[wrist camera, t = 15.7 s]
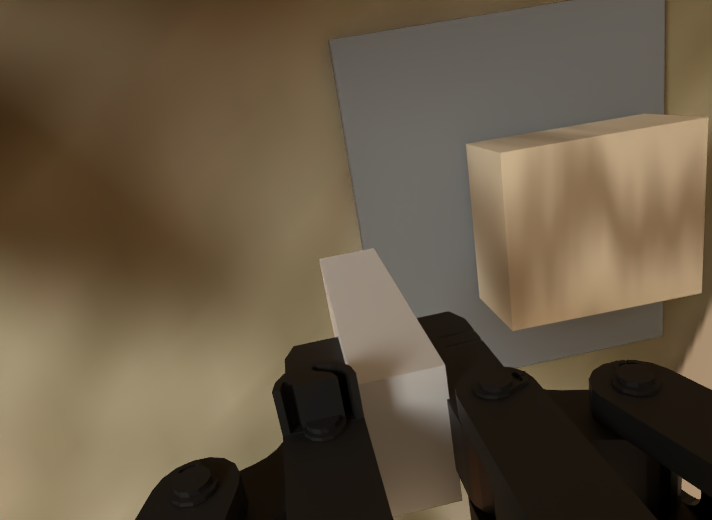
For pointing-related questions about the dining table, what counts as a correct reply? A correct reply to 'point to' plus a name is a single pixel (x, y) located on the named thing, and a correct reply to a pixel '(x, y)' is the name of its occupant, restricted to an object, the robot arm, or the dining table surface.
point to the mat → (480, 123)
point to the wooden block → (589, 217)
